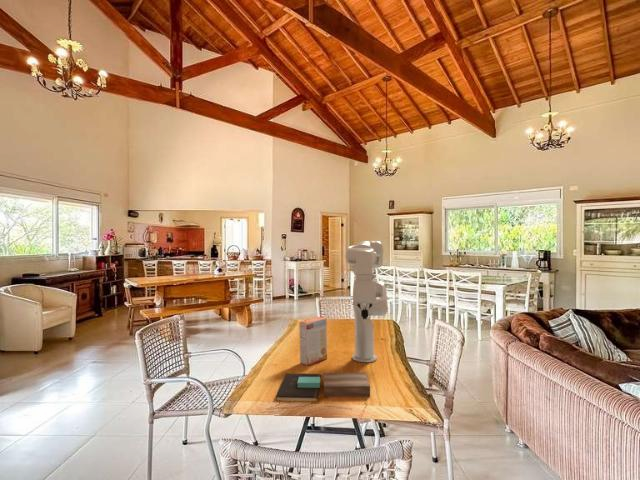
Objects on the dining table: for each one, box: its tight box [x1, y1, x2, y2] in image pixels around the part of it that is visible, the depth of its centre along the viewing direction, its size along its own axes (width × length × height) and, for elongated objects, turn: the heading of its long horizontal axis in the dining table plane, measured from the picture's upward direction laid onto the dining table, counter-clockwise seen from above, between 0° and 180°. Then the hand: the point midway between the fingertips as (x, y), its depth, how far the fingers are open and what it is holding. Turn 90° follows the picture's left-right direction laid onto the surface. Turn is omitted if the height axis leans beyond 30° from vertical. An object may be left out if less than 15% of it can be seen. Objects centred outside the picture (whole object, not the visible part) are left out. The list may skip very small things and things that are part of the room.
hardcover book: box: [275, 372, 322, 402], centre depth 146 cm, size 16×23×2 cm
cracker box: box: [298, 316, 328, 366], centre depth 178 cm, size 14×6×21 cm, turn 135°
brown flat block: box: [323, 371, 371, 398], centre depth 145 cm, size 14×18×4 cm
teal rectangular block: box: [298, 377, 321, 389], centre depth 145 cm, size 6×9×2 cm, turn 88°
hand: (364, 318), depth 157 cm, fingers closed
